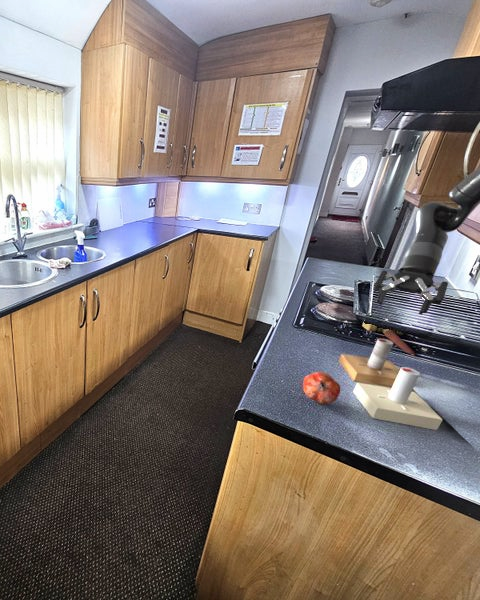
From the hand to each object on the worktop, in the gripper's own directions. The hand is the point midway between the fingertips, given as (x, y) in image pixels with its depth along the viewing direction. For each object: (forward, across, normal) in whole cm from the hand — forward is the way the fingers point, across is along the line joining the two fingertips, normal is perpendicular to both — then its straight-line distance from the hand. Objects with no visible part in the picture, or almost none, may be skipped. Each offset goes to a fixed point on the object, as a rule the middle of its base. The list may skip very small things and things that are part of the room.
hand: (399, 308), depth 91 cm
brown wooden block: (+20, 0, +4) cm, 21 cm away
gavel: (0, +2, +24) cm, 24 cm away
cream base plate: (+30, +6, -5) cm, 31 cm away
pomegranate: (+37, -8, -12) cm, 39 cm away
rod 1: (+18, 0, +2) cm, 18 cm away
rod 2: (+28, +6, -8) cm, 30 cm away
